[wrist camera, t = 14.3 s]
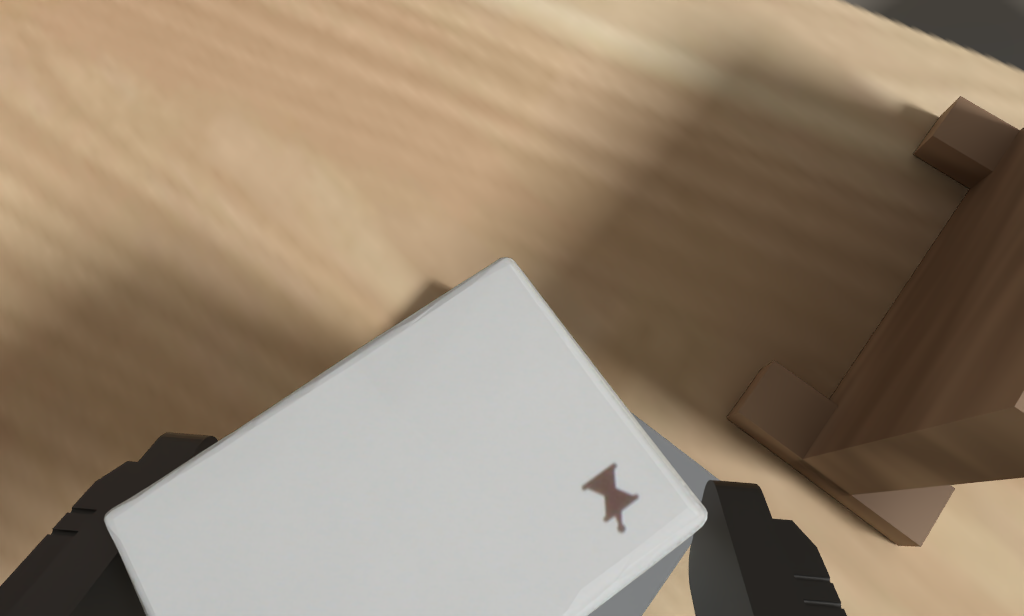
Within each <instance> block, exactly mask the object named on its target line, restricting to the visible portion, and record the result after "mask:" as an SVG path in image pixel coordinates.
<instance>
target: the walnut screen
mask: <svg viewBox="0 0 1024 616" xmlns="http://www.w3.org/2000/svg"><path fill="white" fill-rule="evenodd" d="M913 155H915V156H917V157H918V158H920V159H922V160H923V161H925V162H926V163H928V164H930V165H931V166H933V167H935V168H936V169H938V170H940V171H941V172H943V173H945V174H946V175H948V176H950V177H951V178H953V179H954V180H956V181H958V182H959V183H961V184H963V185H964V186H966V187H968V188H969V191H968V192H967V194H966V195H965V197H964V198H963V200H962V201H961V203H960V204H959V206H958V207H957V209H956V210H955V212H954V213H953V215H952V216H951V218H950V219H949V221H948V222H947V224H946V225H945V227H944V228H943V230H942V231H941V233H940V234H939V236H938V237H937V239H936V240H935V242H934V243H933V245H932V246H931V248H930V249H929V251H928V252H927V254H926V255H925V257H924V258H923V260H922V261H921V263H920V264H919V266H918V267H917V269H916V270H915V272H914V273H913V275H912V276H911V278H910V279H909V281H908V282H907V284H906V285H905V287H904V288H903V290H902V291H901V293H900V294H899V296H898V297H897V299H896V300H895V302H894V303H893V305H892V306H891V308H890V309H889V311H888V312H887V314H886V315H885V317H884V318H883V320H882V321H881V323H880V324H879V326H878V327H877V329H876V330H875V332H874V333H873V335H872V336H871V338H870V339H869V341H868V342H867V344H866V345H865V347H864V348H863V350H862V351H861V353H860V354H859V356H858V357H857V359H856V360H855V362H854V363H853V365H852V366H851V368H850V369H849V371H848V372H847V374H846V375H845V377H844V378H843V380H842V381H841V383H840V384H839V386H838V387H837V389H836V390H835V392H834V393H833V395H832V396H831V398H830V399H828V398H827V397H825V396H824V395H822V394H821V393H820V392H818V391H817V390H815V389H814V388H813V387H811V386H810V385H808V384H807V383H806V382H804V381H803V380H801V379H800V378H799V377H797V376H796V375H794V374H793V373H791V372H790V371H789V370H787V369H786V368H784V367H783V366H782V365H780V364H779V363H777V362H776V361H775V360H774V361H773V362H771V363H770V364H768V365H767V366H765V367H764V368H762V369H761V370H760V371H759V373H758V374H757V375H756V377H755V378H754V380H753V381H752V383H751V384H750V385H749V387H748V388H747V390H746V391H745V392H744V394H743V395H742V397H741V398H740V400H739V401H738V402H737V404H736V405H735V407H734V408H733V409H732V411H731V412H730V414H729V415H728V416H727V419H728V420H730V421H731V422H732V423H734V424H735V425H737V426H738V427H739V428H741V429H742V430H743V431H745V432H746V433H747V434H749V435H750V436H751V437H753V438H754V439H755V440H757V441H758V442H759V443H761V444H762V445H763V446H765V447H766V448H767V449H769V450H770V451H771V452H773V453H774V454H776V455H777V456H778V457H780V458H781V459H782V460H784V461H785V462H786V463H788V464H789V465H790V466H792V467H793V468H794V469H796V470H797V471H798V472H800V473H801V474H802V475H804V476H805V477H806V478H808V479H809V480H811V481H812V482H813V483H815V484H816V485H817V486H819V487H820V488H821V489H823V490H824V491H825V492H827V493H828V494H829V495H831V496H832V497H833V498H835V499H836V500H837V501H839V502H840V503H841V504H843V505H844V506H846V507H847V508H848V509H850V510H851V511H852V512H854V513H855V514H856V515H858V516H859V517H860V518H862V519H863V520H864V521H866V522H867V523H868V524H870V525H871V526H872V527H874V528H875V529H876V530H878V531H879V532H881V533H882V534H883V535H885V536H886V537H887V538H889V539H890V540H891V541H893V542H894V543H895V544H897V545H898V546H920V547H921V546H922V544H923V542H924V541H925V539H926V537H927V536H928V534H929V532H930V531H931V529H932V527H933V525H934V524H935V522H936V520H937V519H938V517H939V515H940V513H941V512H942V510H943V508H944V507H945V505H946V503H947V502H948V500H949V498H950V496H951V495H952V493H953V491H954V490H955V488H954V487H952V486H951V485H954V484H964V483H974V482H984V481H994V480H1003V479H1013V478H1023V477H1024V128H1022V129H1021V130H1018V129H1017V128H1015V127H1013V126H1011V125H1010V124H1008V123H1006V122H1004V121H1003V120H1001V119H999V118H998V117H996V116H994V115H992V114H991V113H989V112H987V111H985V110H984V109H982V108H980V107H978V106H977V105H975V104H973V103H972V102H970V101H968V100H966V99H965V98H963V97H961V96H960V97H959V98H958V99H957V100H956V101H955V102H954V103H953V104H952V105H951V106H950V107H949V108H948V109H947V110H946V111H945V112H944V113H943V114H942V115H941V116H940V117H939V118H938V120H937V121H936V123H935V124H934V125H933V127H932V128H931V130H930V131H929V133H928V134H927V135H926V137H925V138H924V140H923V141H922V142H921V144H920V145H919V147H918V148H917V149H916V151H915V152H914V154H913Z"/></svg>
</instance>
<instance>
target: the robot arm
mask: <svg viewBox="0 0 1024 616" xmlns="http://www.w3.org/2000/svg"><path fill="white" fill-rule="evenodd" d="M216 442H218V440H217V439H216V438H215V437H213V436H205V435H193V434H181V433H165V434H163V435H162V436H160V437H159V438H158V439H157V441H156V442H155V443H154V444H153V445H152V446H151V448H150V449H149V450H148V451H147V452H146V453H145V454H144V456H143V457H142V458H141V459H140V460H139V461H138V462H131V461H127V462H125V463H124V464H122V465H121V466H119V467H118V468H116V469H115V470H113V471H111V472H110V473H108V474H107V475H105V476H104V477H102V478H101V479H99V480H97V481H96V482H95V483H94V484H93V485H92V486H91V487H90V488H89V489H88V490H87V491H86V493H85V494H84V495H83V496H82V497H81V498H80V499H79V500H78V501H77V502H76V504H75V505H74V506H73V507H72V511H71V513H66V515H65V516H64V517H63V518H62V519H61V520H60V521H59V522H58V523H57V525H56V526H55V527H54V528H53V532H52V534H51V535H50V534H47V536H46V537H45V538H44V539H43V540H42V541H41V542H40V543H39V544H38V545H37V547H36V548H35V549H34V550H33V551H32V552H31V553H30V554H29V555H28V556H27V558H26V559H25V560H24V561H23V562H22V563H21V564H20V565H19V566H18V567H17V569H16V570H15V571H14V572H13V573H12V574H11V575H10V576H9V577H8V578H7V580H6V581H5V582H4V583H3V584H2V585H1V586H0V616H146V614H145V612H144V610H143V607H142V605H141V603H140V600H139V598H138V596H137V593H136V591H135V589H134V586H133V584H132V582H131V579H130V577H129V575H128V572H127V570H126V568H125V565H124V563H123V561H122V558H121V556H120V554H119V551H118V549H117V547H116V545H115V543H114V541H113V539H112V537H111V535H110V533H109V531H108V529H107V527H106V524H105V522H104V517H105V514H106V513H107V512H108V511H110V510H111V509H112V508H114V507H115V506H117V505H119V504H121V503H122V502H124V501H126V500H128V499H129V498H131V497H133V496H134V495H136V494H137V493H139V492H141V491H142V490H144V489H145V488H147V487H149V486H150V485H152V484H153V483H155V482H156V481H158V480H160V479H161V478H163V477H164V476H166V475H167V474H169V473H170V472H172V471H173V470H175V469H176V468H178V467H179V466H181V465H182V464H184V463H185V462H187V461H189V460H190V459H192V458H193V457H195V456H196V455H198V454H199V453H201V452H202V451H204V450H205V449H207V448H209V447H210V446H212V445H213V444H215V443H216ZM701 503H702V504H703V506H704V507H705V508H706V510H707V513H708V514H707V520H706V522H705V523H704V525H703V526H702V527H701V528H700V529H699V530H698V531H696V532H695V533H694V535H693V539H692V543H691V548H690V554H689V583H690V590H691V595H692V600H693V605H694V610H695V615H696V616H847V615H846V613H845V610H844V609H841V601H840V599H839V597H838V594H837V592H836V590H835V588H834V585H833V583H830V576H829V574H828V572H827V569H826V567H825V565H824V563H823V560H822V558H821V556H820V553H819V551H818V549H817V547H816V546H815V545H814V544H813V543H812V542H811V540H810V539H809V538H808V537H807V536H806V535H805V534H804V533H803V532H802V531H801V530H800V529H799V527H798V526H797V525H796V524H795V523H794V522H793V521H792V520H781V519H772V516H771V514H770V511H769V508H768V506H767V503H766V501H765V498H764V495H763V493H762V490H761V488H760V487H759V486H758V485H757V484H752V483H740V482H729V481H717V480H709V481H708V482H707V484H706V486H705V489H704V493H703V497H702V501H701Z"/></svg>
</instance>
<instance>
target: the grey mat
mask: <svg viewBox="0 0 1024 616" xmlns="http://www.w3.org/2000/svg"><path fill="white" fill-rule="evenodd" d="M631 414H632V415H633V416H634V418H635V419H636V420H637V421H638V423H639V424H640V425H641V427H642V428H643V429H644V431H645V432H646V433H647V434H648V436H649V437H650V438H651V440H652V441H653V442H654V443H655V445H656V446H657V447H658V449H659V450H660V451H661V452H662V454H663V455H664V456H665V457H666V459H667V460H668V461H669V463H670V464H671V465H672V466H673V468H674V469H675V470H676V472H677V473H678V474H679V475H680V477H681V478H682V479H683V480H684V482H685V483H686V484H687V486H688V487H689V488H690V489H691V491H692V492H693V493H694V494H695V496H696V497H697V498H698V499H699V501H700V502H701V501H702V497H703V493H704V489H705V486H706V484H707V482H708V481H709V480H717V481H720V480H719V479H717V478H716V477H715V476H713V475H712V474H711V473H709V472H708V471H707V470H706V469H704V468H703V467H702V466H700V465H699V464H698V463H696V462H695V461H694V460H692V459H691V458H690V457H689V456H687V455H686V454H685V453H683V452H682V451H681V450H679V449H678V448H677V447H676V446H674V445H673V444H672V443H670V442H669V441H668V440H666V439H665V438H664V437H663V436H661V435H660V434H659V433H657V432H656V431H655V430H653V429H652V428H651V427H649V426H648V425H647V424H646V423H644V422H643V421H642V420H640V419H639V418H638V417H636V416H635V415H634V414H633V413H631ZM693 535H694V534H693ZM693 535H692V536H690V537H689V538H688V539H687V540H685V541H684V542H683V543H681V544H680V545H679V546H678V547H676V548H675V549H674V550H672V551H671V552H670V553H669V554H667V555H666V556H665V557H664V558H662V559H661V560H660V561H658V562H657V563H656V564H655V565H653V566H652V567H651V568H649V569H648V570H647V571H645V572H644V573H643V574H641V575H640V576H639V577H638V578H636V579H635V580H634V581H632V582H631V583H630V584H628V585H627V586H626V587H624V588H623V589H622V590H620V591H619V592H618V593H616V594H615V595H614V596H613V597H611V598H610V599H609V600H607V601H606V602H605V603H603V604H602V605H601V606H599V607H598V608H597V609H596V610H594V611H593V612H592V613H590V614H589V615H588V616H642V615H643V613H644V612H645V610H646V609H647V607H648V606H649V605H650V603H651V602H652V600H653V599H654V597H655V596H656V594H657V593H658V591H659V590H660V589H661V587H662V586H663V584H664V583H665V581H666V580H667V578H668V577H669V575H670V574H671V572H672V571H673V570H674V568H675V567H676V565H677V564H678V562H679V561H680V559H681V558H682V556H683V555H684V553H685V552H686V551H687V549H688V548H689V546H690V545H691V543H692V539H693Z"/></svg>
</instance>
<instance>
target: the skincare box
mask: <svg viewBox="0 0 1024 616" xmlns="http://www.w3.org/2000/svg"><path fill="white" fill-rule="evenodd" d="M707 514H708V513H707V510H706V508H705V507H704V506H703V504H702V503H701V502H700V501H699V499H698V498H697V497H696V496H695V494H694V493H693V492H692V491H691V489H690V488H689V487H688V486H687V484H686V483H685V482H684V480H683V479H682V478H681V477H680V475H679V474H678V473H677V472H676V470H675V469H674V468H673V466H672V465H671V464H670V463H669V461H668V460H667V459H666V457H665V456H664V455H663V454H662V452H661V451H660V450H659V449H658V447H657V446H656V445H655V443H654V442H653V441H652V440H651V438H650V437H649V436H648V434H647V433H646V432H645V431H644V429H643V428H642V427H641V425H640V424H639V423H638V421H637V420H636V419H635V418H634V416H633V415H632V414H631V412H630V411H629V410H628V408H627V407H626V406H625V405H624V403H623V402H622V401H621V399H620V398H619V397H618V395H617V394H616V393H615V392H614V390H613V389H612V388H611V386H610V385H609V384H608V382H607V381H606V380H605V379H604V377H603V376H602V375H601V373H600V372H599V371H598V369H597V368H596V367H595V366H594V364H593V363H592V362H591V360H590V359H589V358H588V356H587V355H586V354H585V352H584V351H583V350H582V349H581V347H580V346H579V345H578V343H577V342H576V341H575V339H574V338H573V337H572V336H571V334H570V333H569V332H568V330H567V329H566V328H565V326H564V325H563V324H562V322H561V321H560V320H559V319H558V317H557V316H556V315H555V313H554V312H553V311H552V309H551V308H550V307H549V305H548V304H547V303H546V301H545V300H544V299H543V298H542V296H541V295H540V294H539V292H538V291H537V290H536V288H535V287H534V286H533V284H532V283H531V282H530V280H529V279H528V278H527V276H526V275H525V274H524V272H523V271H522V270H521V269H520V267H519V266H518V265H517V264H516V262H515V261H514V260H512V259H511V258H507V257H504V258H500V259H498V260H497V261H495V262H494V263H492V264H491V265H489V266H488V267H486V268H484V269H483V270H481V271H480V272H478V273H476V274H475V275H473V276H472V277H470V278H468V279H467V280H465V281H464V282H462V283H460V284H459V285H457V286H456V287H454V288H453V289H451V290H449V291H448V292H446V293H445V294H443V295H442V296H440V297H438V298H437V299H435V300H434V301H432V302H431V303H429V304H428V305H426V306H424V307H423V308H421V309H420V310H418V311H417V312H415V313H414V314H412V315H411V316H409V317H408V318H406V319H404V320H403V321H401V322H400V323H398V324H397V325H395V326H393V327H392V328H390V329H389V330H387V331H386V332H384V333H382V334H381V335H379V336H378V337H376V338H374V339H373V340H371V341H370V342H368V343H367V344H365V345H364V346H362V347H361V348H359V349H358V350H356V351H355V352H353V353H351V354H350V355H348V356H347V357H345V358H344V359H342V360H341V361H339V362H338V363H336V364H335V365H333V366H332V367H330V368H329V369H327V370H326V371H324V372H323V373H321V374H320V375H318V376H317V377H315V378H314V379H312V380H311V381H309V382H308V383H306V384H305V385H303V386H302V387H300V388H299V389H297V390H296V391H294V392H293V393H291V394H290V395H288V396H287V397H285V398H284V399H282V400H281V401H279V402H278V403H276V404H275V405H273V406H272V407H270V408H269V409H267V410H266V411H264V412H263V413H261V414H260V415H258V416H257V417H255V418H254V419H252V420H251V421H249V422H248V423H246V424H245V425H243V426H242V427H240V428H239V429H237V430H235V431H234V432H232V433H231V434H229V435H228V436H226V437H224V438H223V439H221V440H220V441H218V442H216V443H215V444H213V445H212V446H210V447H209V448H207V449H205V450H204V451H202V452H201V453H199V454H198V455H196V456H195V457H193V458H192V459H190V460H189V461H187V462H185V463H184V464H182V465H181V466H179V467H178V468H176V469H175V470H173V471H172V472H170V473H169V474H167V475H166V476H164V477H163V478H161V479H160V480H158V481H156V482H155V483H153V484H152V485H150V486H149V487H147V488H145V489H144V490H142V491H141V492H139V493H137V494H136V495H134V496H133V497H131V498H129V499H128V500H126V501H124V502H122V503H121V504H119V505H117V506H115V507H114V508H112V509H111V510H110V511H108V512H107V513H106V514H105V517H104V522H105V524H106V527H107V529H108V531H109V533H110V535H111V537H112V539H113V541H114V543H115V545H116V547H117V549H118V551H119V554H120V556H121V558H122V561H123V563H124V565H125V568H126V570H127V572H128V575H129V577H130V579H131V582H132V584H133V586H134V589H135V591H136V593H137V596H138V598H139V600H140V603H141V605H142V607H143V610H144V612H145V614H146V616H588V615H589V614H590V613H592V612H593V611H594V610H596V609H597V608H598V607H599V606H601V605H602V604H603V603H605V602H606V601H607V600H609V599H610V598H611V597H613V596H614V595H615V594H616V593H618V592H619V591H620V590H622V589H623V588H624V587H626V586H627V585H628V584H630V583H631V582H632V581H634V580H635V579H636V578H638V577H639V576H640V575H641V574H643V573H644V572H645V571H647V570H648V569H649V568H651V567H652V566H653V565H655V564H656V563H657V562H658V561H660V560H661V559H662V558H664V557H665V556H666V555H667V554H669V553H670V552H671V551H672V550H674V549H675V548H676V547H678V546H679V545H680V544H681V543H683V542H684V541H685V540H687V539H688V538H689V537H690V536H692V535H693V534H694V533H695V532H696V531H698V530H699V529H700V528H701V527H702V526H703V525H704V523H705V522H706V520H707Z"/></svg>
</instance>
